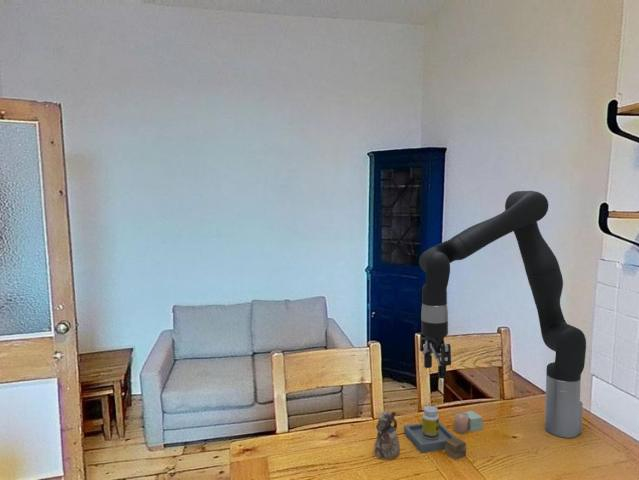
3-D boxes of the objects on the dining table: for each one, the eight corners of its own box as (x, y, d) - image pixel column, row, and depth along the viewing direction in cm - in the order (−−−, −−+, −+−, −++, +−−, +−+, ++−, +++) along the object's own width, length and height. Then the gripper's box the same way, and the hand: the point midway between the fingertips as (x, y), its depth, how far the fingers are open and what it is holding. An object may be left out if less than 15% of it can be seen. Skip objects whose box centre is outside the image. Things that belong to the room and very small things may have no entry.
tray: (438, 428, 146) (438, 420, 146) (458, 447, 135) (458, 439, 135) (403, 433, 143) (403, 425, 143) (421, 453, 132) (421, 444, 132)
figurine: (372, 447, 136) (371, 407, 134) (396, 445, 136) (396, 405, 135) (377, 460, 129) (377, 418, 127) (402, 459, 129) (402, 417, 128)
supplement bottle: (439, 440, 136) (439, 413, 135) (422, 439, 137) (422, 411, 136) (438, 432, 141) (438, 405, 140) (422, 431, 142) (422, 404, 141)
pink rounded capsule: (457, 425, 147) (458, 410, 147) (469, 430, 144) (470, 414, 144) (451, 429, 144) (452, 414, 144) (463, 434, 141) (464, 419, 141)
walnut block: (455, 449, 134) (455, 436, 133) (465, 456, 130) (465, 442, 130) (444, 453, 132) (444, 439, 131) (455, 460, 128) (455, 446, 128)
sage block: (472, 422, 149) (472, 410, 149) (482, 429, 145) (482, 417, 144) (461, 424, 148) (461, 412, 148) (471, 432, 143) (471, 419, 143)
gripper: (459, 323, 130) (459, 380, 132) (434, 311, 144) (434, 363, 145) (434, 326, 128) (435, 383, 130) (411, 314, 142) (412, 365, 144)
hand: (434, 372), depth 138 cm, fingers open, 8 cm apart
